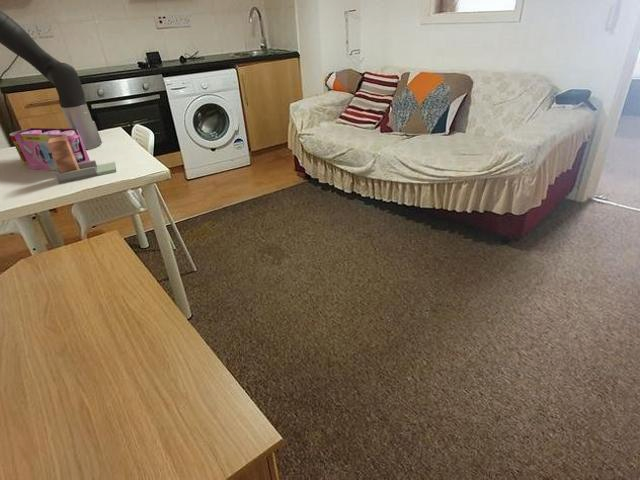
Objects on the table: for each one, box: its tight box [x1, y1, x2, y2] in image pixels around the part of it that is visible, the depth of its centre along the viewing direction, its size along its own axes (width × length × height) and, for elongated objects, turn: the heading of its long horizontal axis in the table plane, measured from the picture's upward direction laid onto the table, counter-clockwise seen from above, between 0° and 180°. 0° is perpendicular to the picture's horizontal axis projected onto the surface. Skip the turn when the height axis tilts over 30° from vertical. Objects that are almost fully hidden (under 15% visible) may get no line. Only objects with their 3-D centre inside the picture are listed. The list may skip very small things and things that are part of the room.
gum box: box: [14, 127, 91, 172], centre depth 143 cm, size 24×8×14 cm, turn 73°
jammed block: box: [48, 136, 80, 173], centre depth 132 cm, size 5×6×12 cm
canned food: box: [9, 129, 29, 167], centre depth 150 cm, size 8×8×12 cm
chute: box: [54, 159, 117, 184], centre depth 137 cm, size 18×9×3 cm, turn 116°
